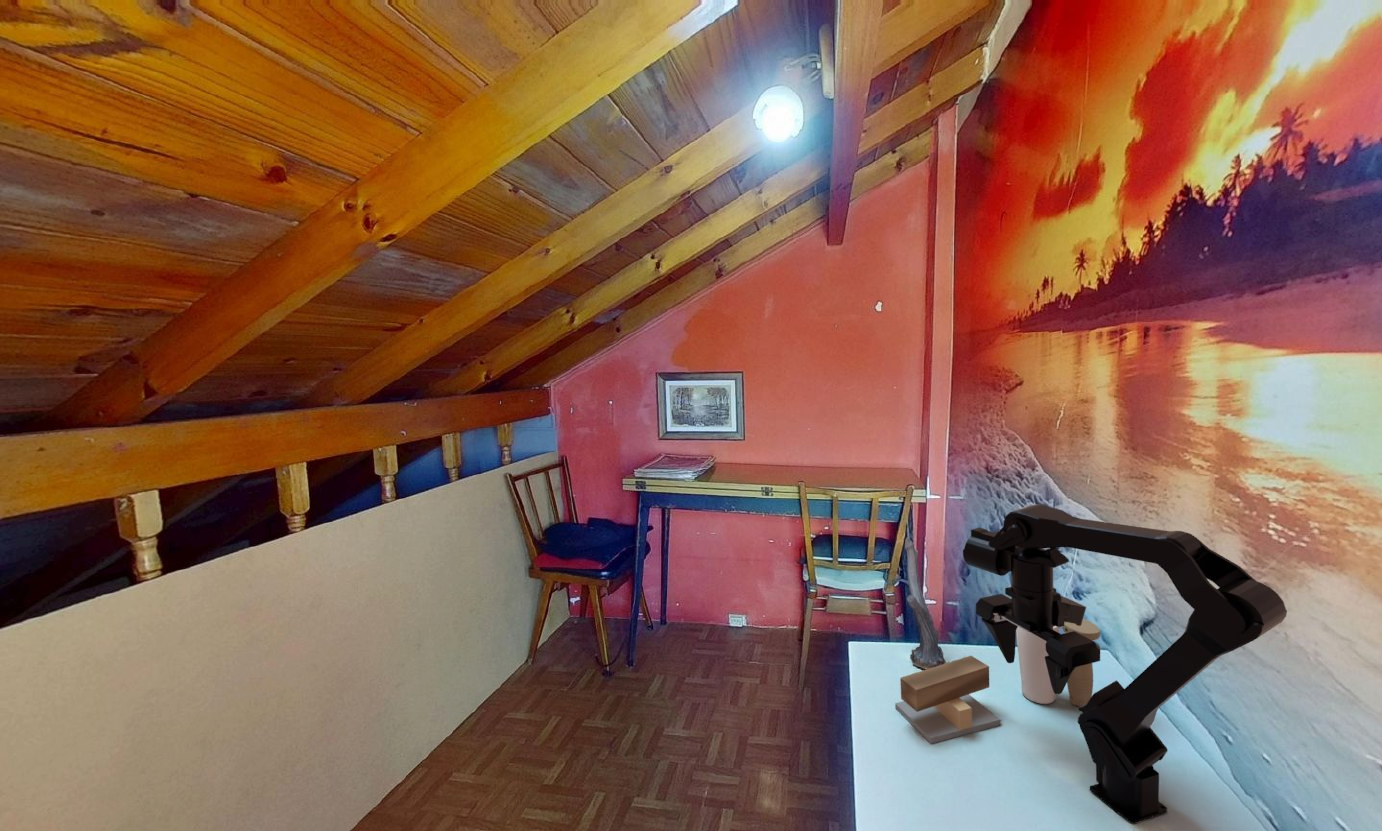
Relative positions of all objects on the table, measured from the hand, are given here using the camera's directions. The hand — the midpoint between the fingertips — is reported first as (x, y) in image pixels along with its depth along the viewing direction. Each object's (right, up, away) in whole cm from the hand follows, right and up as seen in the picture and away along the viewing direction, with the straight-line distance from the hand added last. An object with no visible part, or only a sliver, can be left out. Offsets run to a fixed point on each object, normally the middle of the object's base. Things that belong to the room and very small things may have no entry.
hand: (1033, 677), depth 90 cm
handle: (+15, -10, +11) cm, 21 cm away
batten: (-10, -7, +10) cm, 15 cm away
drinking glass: (+9, -10, +13) cm, 19 cm away
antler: (-6, -10, +29) cm, 32 cm away
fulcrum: (-9, -12, +10) cm, 18 cm away
